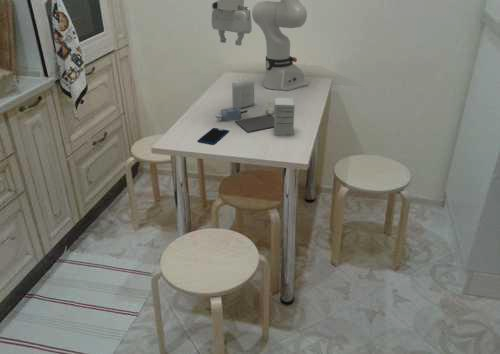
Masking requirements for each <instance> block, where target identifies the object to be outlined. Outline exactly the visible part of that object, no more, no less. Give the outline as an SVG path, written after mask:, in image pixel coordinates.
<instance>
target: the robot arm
mask: <svg viewBox="0 0 500 354" xmlns="http://www.w3.org/2000/svg"><path fill="white" fill-rule="evenodd" d="M244 4H245V0H216V1H214V2H212V3H211V9H212V11H211V27H212V29H213V30H216V31H217V30H218V33H217V34H218V35H219V38H220V39H219V41H220V43H222V44H224V43H227V38H226V37H225V33H226V32H231V33H237V35H236V36H237V38H236V39H235V46H242V42H243V39H244V37H245V34H251V32H252V24H253V23H252V20H253V21H254V23H255V24H256V25H257V26H258V27H259V28H260V29H261V31H262V33H263V34H264V38H265V42H266V43H265V44H266V55H265V74H264V75H265V76H264V81H263V84H262V86H263V87H264V88H266V89H269V90H274V91H275V90H276V91H283V92H284V91H285V92H288V91H291V90H295V89H299V88H302V87H306V86H308V85H309V81H308V80H307V79H305V76H304V72H303V71H302V69H300V67H298V66H296V64H294V63H297V62H298V61H297V60H298V59H297V57H294V56H291V41H290V39H289V37H288V36H287V35H285V34H284V33H282V31H281V29H280V28H286V29H287V28H288V29H296V28H301V27H303V26H304V25H305V23H306V22H307V17H308V11H307V9H306V8H305V6H304V5H303V4H302V3H301V1H300V0H280V1H270V0H265V1H264V0H263V1H259V2H256V3H255V5H254V6H253V8H252V11H251V10H250V9H249V7H248V6H244Z"/></svg>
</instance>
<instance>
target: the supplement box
mask: <svg viewBox="0 0 500 354" xmlns="http://www.w3.org/2000/svg"><path fill="white" fill-rule="evenodd" d="M273 117H274V128H273V130H274V135H275V136H294V128H295V127H294V123H295V102H294V97H293V98H292V97H275V98H274V115H273Z"/></svg>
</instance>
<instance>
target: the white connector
mask: <svg viewBox="0 0 500 354" xmlns="http://www.w3.org/2000/svg"><path fill="white" fill-rule="evenodd" d="M274 104H275V102H267V103H266V115H271V116H274Z"/></svg>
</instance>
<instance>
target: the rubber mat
mask: <svg viewBox="0 0 500 354" xmlns="http://www.w3.org/2000/svg"><path fill="white" fill-rule="evenodd" d="M234 123H235V124H236V125H237V126H239V127H240V128H241V129H242V130H244V131H245V132H246V133H247V134H250V133H254V132H259V131H265V130H268V129H274V115H267V114H264V115H258V116H254V117H249V118H242V119H238V120H234Z"/></svg>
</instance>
